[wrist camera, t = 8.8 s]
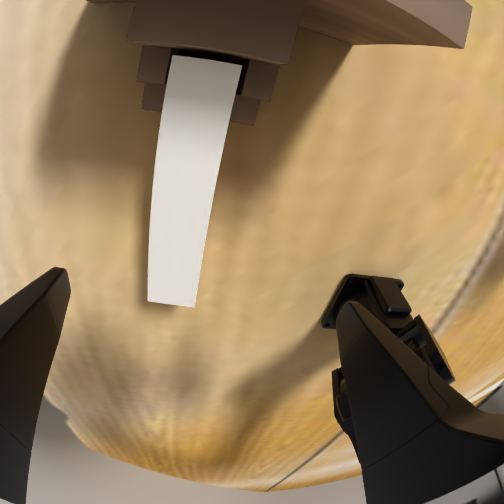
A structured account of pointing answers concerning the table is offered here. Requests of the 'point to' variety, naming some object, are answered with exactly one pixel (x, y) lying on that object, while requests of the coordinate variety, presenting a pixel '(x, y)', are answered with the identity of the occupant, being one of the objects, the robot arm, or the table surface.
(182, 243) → the bed rail
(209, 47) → the brown wooden block
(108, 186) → the table surface
